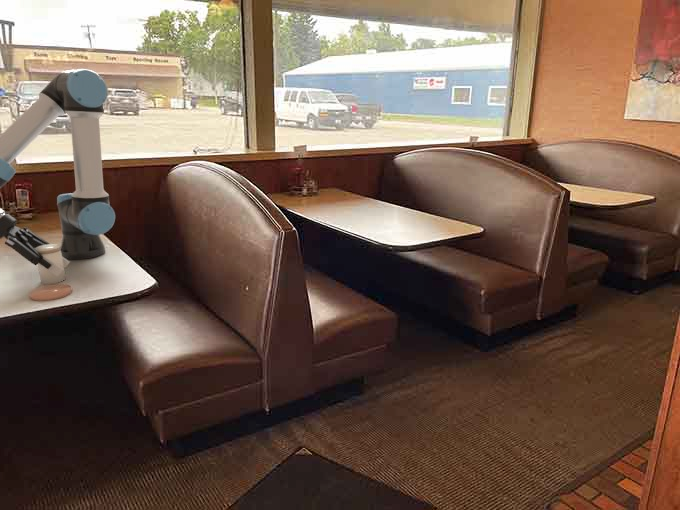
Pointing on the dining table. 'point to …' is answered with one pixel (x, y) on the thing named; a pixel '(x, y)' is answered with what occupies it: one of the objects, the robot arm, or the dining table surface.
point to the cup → (55, 256)
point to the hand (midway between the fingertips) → (63, 269)
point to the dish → (50, 292)
